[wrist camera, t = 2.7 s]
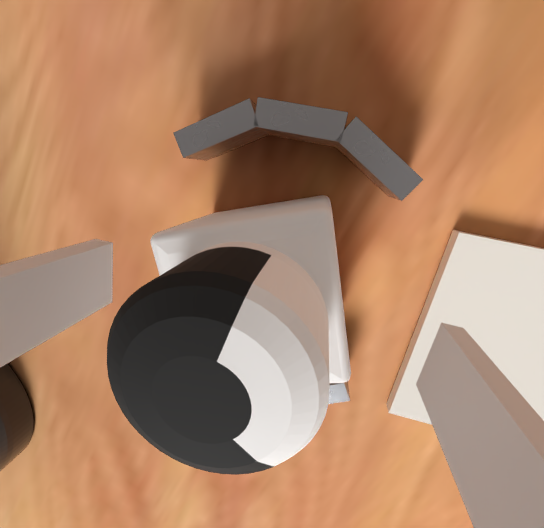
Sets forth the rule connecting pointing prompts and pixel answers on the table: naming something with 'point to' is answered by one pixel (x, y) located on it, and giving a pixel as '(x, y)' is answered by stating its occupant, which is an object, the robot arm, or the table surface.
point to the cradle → (309, 128)
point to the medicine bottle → (234, 337)
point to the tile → (482, 316)
